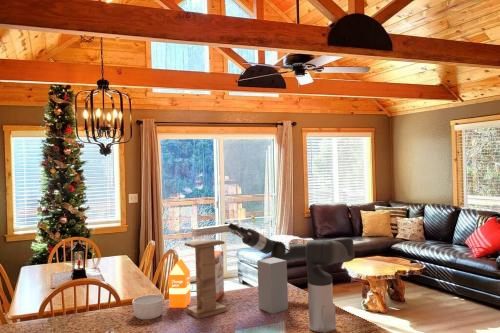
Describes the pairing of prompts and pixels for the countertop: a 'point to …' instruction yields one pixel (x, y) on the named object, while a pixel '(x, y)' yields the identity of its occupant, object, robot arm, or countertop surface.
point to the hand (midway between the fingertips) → (227, 224)
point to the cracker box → (219, 273)
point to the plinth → (272, 285)
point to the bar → (212, 230)
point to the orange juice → (179, 285)
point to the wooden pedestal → (205, 279)
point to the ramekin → (148, 306)
